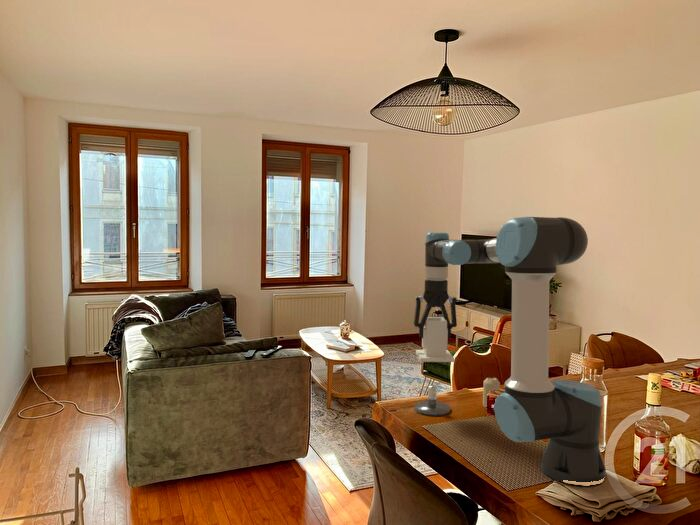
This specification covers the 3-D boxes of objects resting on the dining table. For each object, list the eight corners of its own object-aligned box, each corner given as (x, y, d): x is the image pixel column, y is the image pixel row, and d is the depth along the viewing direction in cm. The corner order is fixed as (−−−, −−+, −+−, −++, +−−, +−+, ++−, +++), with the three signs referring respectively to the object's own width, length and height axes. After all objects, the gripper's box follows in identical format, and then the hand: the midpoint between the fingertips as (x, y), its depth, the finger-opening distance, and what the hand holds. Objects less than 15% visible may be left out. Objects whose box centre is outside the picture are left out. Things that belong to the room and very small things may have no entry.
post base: (453, 415, 173) (454, 392, 172) (416, 416, 173) (417, 392, 172) (446, 403, 185) (446, 380, 184) (411, 403, 185) (412, 380, 184)
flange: (447, 353, 183) (448, 316, 181) (454, 361, 172) (455, 322, 170) (415, 353, 182) (416, 315, 181) (420, 361, 171) (421, 322, 170)
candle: (497, 403, 185) (498, 375, 184) (500, 409, 179) (501, 380, 178) (481, 403, 185) (482, 375, 184) (484, 408, 180) (484, 380, 179)
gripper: (463, 277, 179) (461, 344, 181) (405, 277, 178) (404, 344, 180) (468, 280, 171) (466, 350, 173) (408, 280, 171) (406, 350, 173)
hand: (434, 347), depth 177 cm, fingers closed on flange, 7 cm apart
